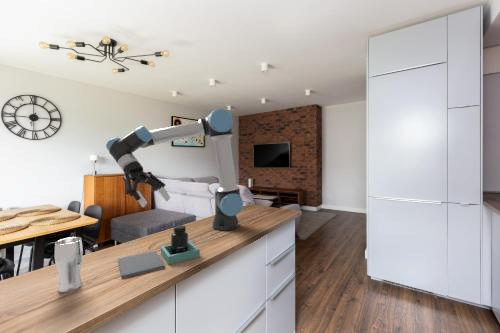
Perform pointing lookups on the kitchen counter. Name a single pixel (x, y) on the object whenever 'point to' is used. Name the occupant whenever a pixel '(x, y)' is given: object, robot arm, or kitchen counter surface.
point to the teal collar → (180, 254)
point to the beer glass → (69, 263)
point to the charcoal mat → (139, 264)
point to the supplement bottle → (179, 240)
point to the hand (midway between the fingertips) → (157, 202)
